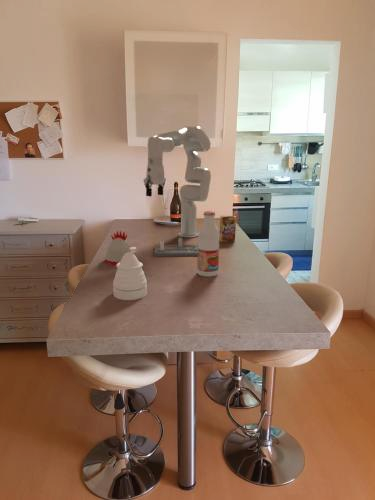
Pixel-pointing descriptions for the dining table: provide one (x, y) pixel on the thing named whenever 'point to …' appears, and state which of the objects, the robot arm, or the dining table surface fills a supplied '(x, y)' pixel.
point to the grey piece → (117, 249)
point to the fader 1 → (162, 245)
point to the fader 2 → (180, 242)
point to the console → (177, 250)
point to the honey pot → (129, 278)
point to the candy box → (227, 228)
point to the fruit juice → (208, 246)
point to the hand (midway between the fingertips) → (154, 195)
